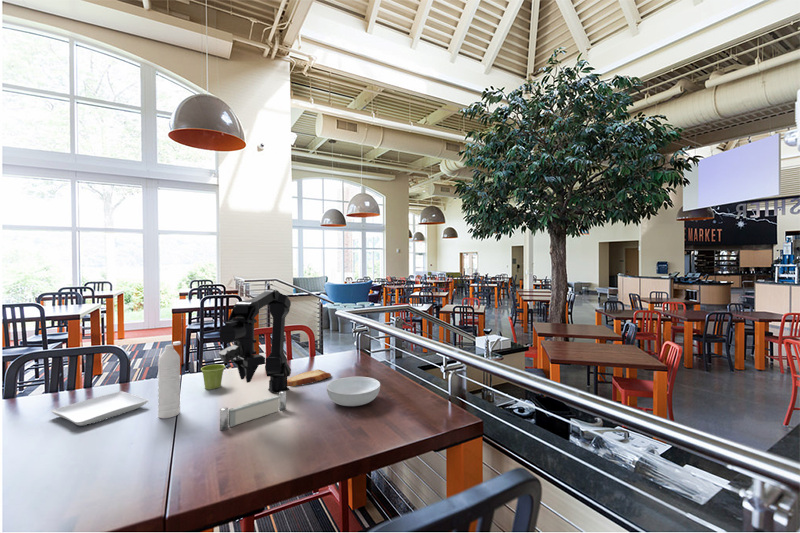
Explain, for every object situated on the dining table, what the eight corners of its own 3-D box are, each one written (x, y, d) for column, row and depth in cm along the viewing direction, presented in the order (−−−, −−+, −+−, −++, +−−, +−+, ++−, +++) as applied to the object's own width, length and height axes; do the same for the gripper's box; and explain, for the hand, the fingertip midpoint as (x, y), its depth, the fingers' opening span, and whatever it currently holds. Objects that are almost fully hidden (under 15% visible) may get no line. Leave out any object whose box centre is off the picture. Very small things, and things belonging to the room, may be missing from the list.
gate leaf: (276, 409, 127) (276, 395, 127) (279, 411, 126) (279, 396, 126) (228, 425, 115) (228, 409, 115) (230, 426, 114) (230, 410, 114)
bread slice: (282, 387, 153) (282, 379, 152) (296, 374, 170) (296, 366, 170) (323, 388, 152) (323, 379, 152) (333, 375, 170) (333, 367, 170)
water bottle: (172, 418, 120) (172, 346, 120) (153, 418, 120) (153, 346, 120) (187, 408, 129) (187, 341, 129) (170, 408, 129) (170, 341, 129)
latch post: (226, 426, 115) (226, 406, 115) (229, 428, 113) (229, 408, 113) (218, 428, 113) (218, 409, 113) (221, 431, 111) (221, 411, 111)
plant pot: (227, 382, 157) (227, 363, 157) (222, 389, 148) (222, 369, 148) (204, 384, 155) (204, 365, 155) (197, 391, 146) (197, 371, 146)
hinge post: (283, 407, 130) (283, 390, 130) (287, 409, 128) (287, 392, 128) (277, 409, 128) (277, 392, 128) (281, 411, 126) (281, 393, 126)
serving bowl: (383, 393, 145) (383, 376, 145) (375, 414, 124) (375, 395, 124) (335, 391, 147) (335, 375, 147) (319, 411, 126) (319, 393, 126)
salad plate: (49, 419, 121) (49, 409, 121) (121, 398, 140) (121, 389, 140) (77, 432, 111) (77, 422, 111) (150, 408, 130) (150, 399, 130)
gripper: (211, 336, 124) (211, 380, 124) (232, 345, 112) (232, 393, 112) (243, 332, 133) (243, 373, 133) (266, 339, 120) (265, 384, 120)
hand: (245, 380), depth 124 cm, fingers open, 5 cm apart
